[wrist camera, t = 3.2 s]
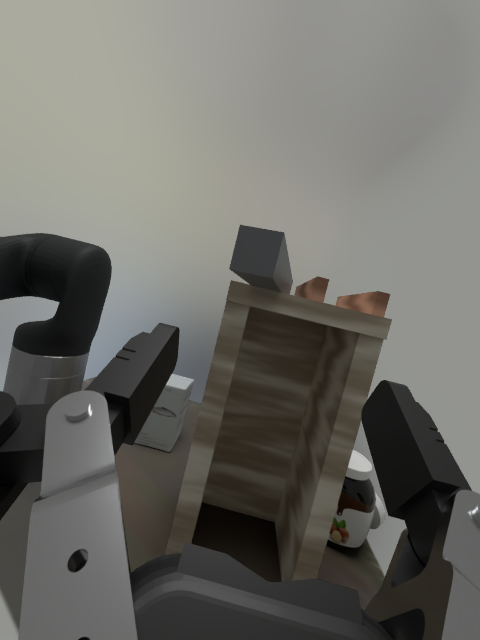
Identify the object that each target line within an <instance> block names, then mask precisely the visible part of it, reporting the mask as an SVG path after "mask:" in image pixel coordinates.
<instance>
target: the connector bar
mask: <svg viewBox="0 0 480 640" xmlns="http://www.w3.org/2000/svg"><path fill="white" fill-rule="evenodd" d="M230 270H231V271H233V272H234V273H235V274H237V275H238V276H240V277H241V278H242V279H244V280H245V281H246V282H248V283H249V284H250V285H252V286H256V287H261V288H265V289H269V290H273V291H277V292H281V293H285V294H290V290H291V286H292V283H293V280H292V274H291V269H290V263H289V257H288V251H287V246H286V240H285V234H284V232H278V231H272V230H267V229H261V228H255V227H249V226H243V225H240V227H239V231H238V235H237V240H236V244H235V248H234V252H233V256H232V260H231V264H230Z"/></svg>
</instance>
